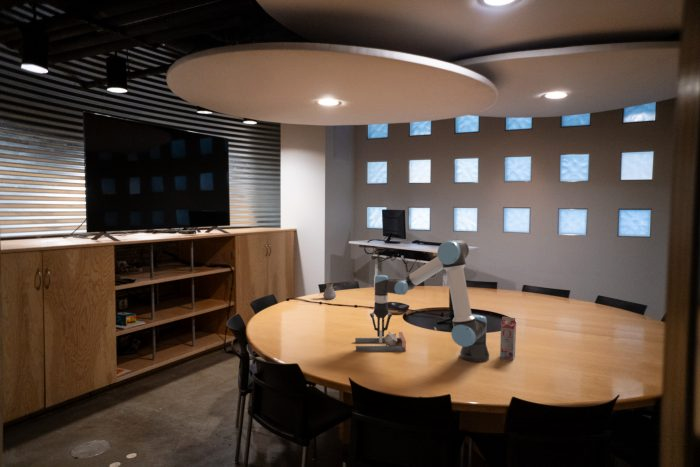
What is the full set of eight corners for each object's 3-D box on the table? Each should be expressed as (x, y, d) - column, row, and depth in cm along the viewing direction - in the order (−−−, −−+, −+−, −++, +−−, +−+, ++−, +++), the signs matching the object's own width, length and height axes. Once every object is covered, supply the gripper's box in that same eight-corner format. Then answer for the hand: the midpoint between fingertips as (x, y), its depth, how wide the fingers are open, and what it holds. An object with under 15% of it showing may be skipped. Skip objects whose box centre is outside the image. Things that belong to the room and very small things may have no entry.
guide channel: (405, 351, 247) (405, 340, 247) (355, 351, 247) (355, 340, 246) (401, 341, 264) (402, 332, 263) (355, 341, 264) (355, 332, 263)
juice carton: (513, 360, 233) (514, 319, 232) (500, 358, 237) (501, 317, 235) (515, 356, 239) (516, 316, 238) (502, 354, 242) (503, 315, 241)
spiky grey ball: (390, 353, 254) (383, 342, 249) (384, 344, 261) (378, 333, 256) (403, 345, 255) (397, 334, 250) (397, 336, 262) (391, 325, 257)
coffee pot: (320, 299, 384) (320, 282, 383) (327, 296, 394) (327, 280, 393) (342, 301, 374) (342, 284, 373) (348, 299, 384) (348, 282, 383)
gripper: (391, 300, 257) (391, 340, 259) (369, 300, 257) (369, 339, 259) (392, 303, 250) (392, 344, 252) (370, 303, 250) (369, 344, 251)
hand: (380, 341), depth 255 cm, fingers closed
